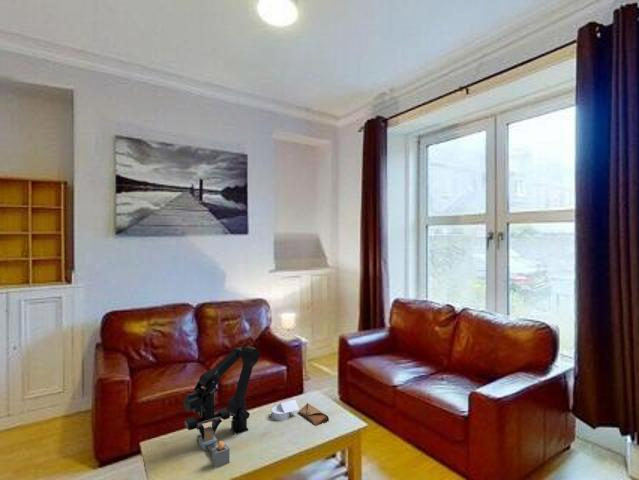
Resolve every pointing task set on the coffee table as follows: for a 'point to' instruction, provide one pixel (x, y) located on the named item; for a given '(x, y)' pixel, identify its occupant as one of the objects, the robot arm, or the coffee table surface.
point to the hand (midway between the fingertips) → (207, 437)
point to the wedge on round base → (284, 410)
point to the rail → (208, 446)
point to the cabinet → (220, 456)
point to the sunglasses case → (313, 415)
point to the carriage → (207, 438)
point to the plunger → (220, 445)
